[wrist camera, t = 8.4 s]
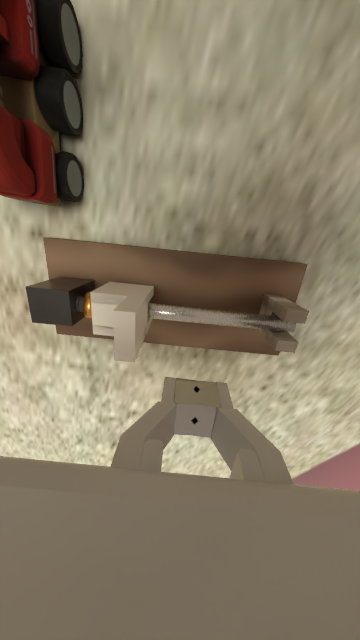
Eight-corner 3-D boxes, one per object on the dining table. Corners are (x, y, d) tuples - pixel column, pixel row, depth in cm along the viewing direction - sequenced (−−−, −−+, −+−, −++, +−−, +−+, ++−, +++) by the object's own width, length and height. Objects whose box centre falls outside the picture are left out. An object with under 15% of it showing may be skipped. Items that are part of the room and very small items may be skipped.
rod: (61, 276, 24) (25, 286, 19) (279, 298, 25) (306, 314, 19) (64, 305, 26) (32, 322, 20) (272, 325, 26) (294, 348, 20)
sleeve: (109, 281, 23) (65, 305, 14) (153, 286, 23) (135, 312, 15) (110, 316, 24) (71, 356, 16) (152, 320, 24) (134, 362, 16)
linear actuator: (51, 237, 24) (-4, 236, 17) (300, 263, 24) (346, 272, 17) (63, 329, 29) (23, 357, 22) (274, 349, 29) (302, 384, 22)
